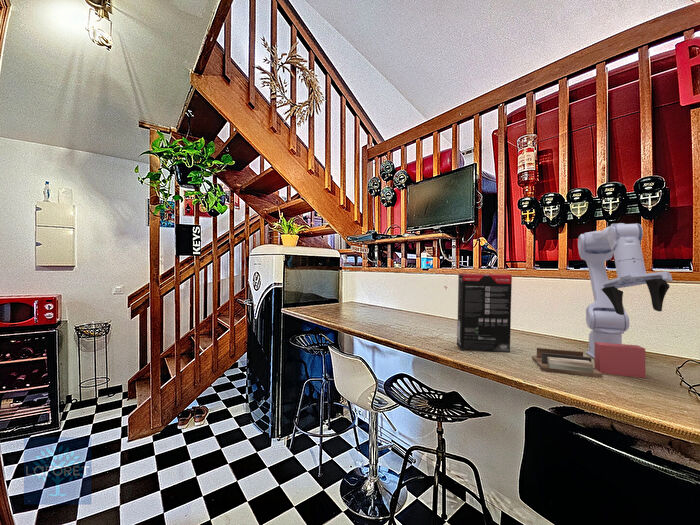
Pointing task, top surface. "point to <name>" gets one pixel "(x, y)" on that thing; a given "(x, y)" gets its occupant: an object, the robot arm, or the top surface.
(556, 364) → the rack
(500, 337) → the graphics card box
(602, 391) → the top surface
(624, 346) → the red rectangular block
